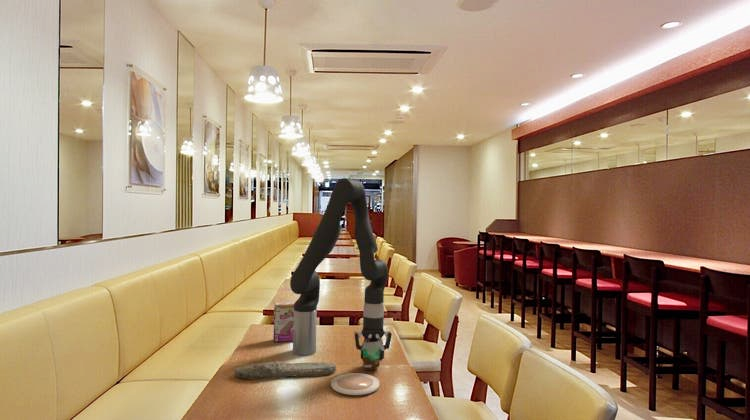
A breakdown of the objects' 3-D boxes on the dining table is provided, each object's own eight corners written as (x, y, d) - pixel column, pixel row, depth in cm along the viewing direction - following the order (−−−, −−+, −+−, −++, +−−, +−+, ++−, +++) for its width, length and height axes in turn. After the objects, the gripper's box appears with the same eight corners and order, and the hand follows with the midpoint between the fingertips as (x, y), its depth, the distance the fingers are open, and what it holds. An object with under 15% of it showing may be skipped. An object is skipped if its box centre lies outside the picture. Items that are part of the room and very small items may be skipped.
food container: (379, 372, 157) (379, 344, 156) (362, 370, 158) (362, 342, 158) (385, 360, 169) (385, 334, 169) (369, 359, 170) (369, 333, 170)
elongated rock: (337, 381, 155) (333, 372, 165) (338, 366, 155) (334, 357, 165) (232, 381, 148) (235, 372, 158) (234, 365, 148) (237, 357, 158)
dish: (332, 398, 138) (332, 393, 138) (329, 377, 154) (329, 373, 154) (383, 395, 140) (383, 390, 140) (375, 376, 156) (375, 371, 156)
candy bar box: (273, 343, 191) (274, 305, 191) (273, 339, 196) (273, 302, 196) (299, 341, 194) (300, 304, 194) (298, 338, 199) (299, 301, 199)
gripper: (390, 311, 168) (389, 356, 168) (353, 312, 166) (351, 357, 166) (394, 317, 160) (393, 363, 160) (355, 317, 158) (353, 364, 158)
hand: (372, 359), depth 163 cm, fingers closed on food container, 5 cm apart
